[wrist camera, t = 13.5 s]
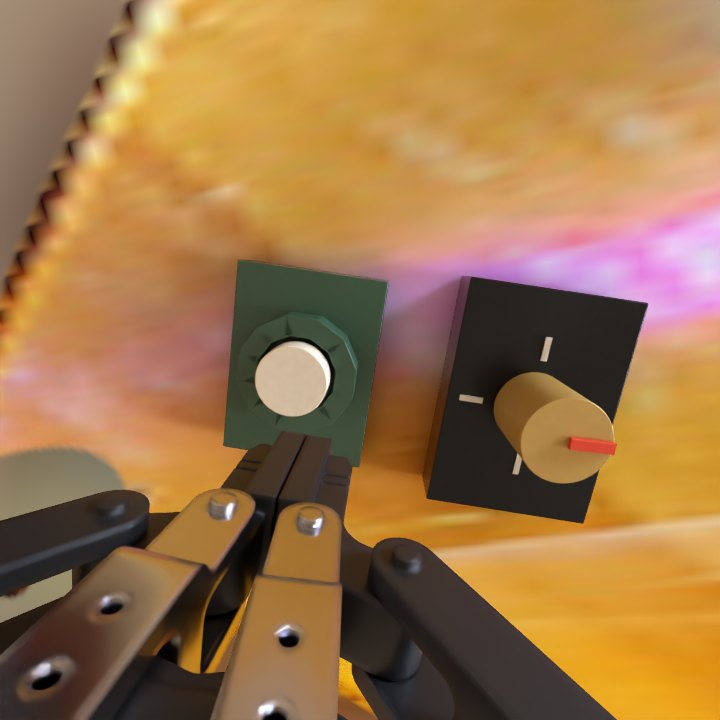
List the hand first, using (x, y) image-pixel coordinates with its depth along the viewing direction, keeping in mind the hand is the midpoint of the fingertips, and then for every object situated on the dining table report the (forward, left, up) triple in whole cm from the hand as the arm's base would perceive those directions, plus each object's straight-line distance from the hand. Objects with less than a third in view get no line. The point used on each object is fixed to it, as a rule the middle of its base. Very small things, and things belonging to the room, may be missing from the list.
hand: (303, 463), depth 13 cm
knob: (+1, +11, -13) cm, 17 cm away
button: (+1, -3, -12) cm, 13 cm away
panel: (+1, +11, -16) cm, 20 cm away
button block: (+1, -3, -16) cm, 16 cm away
